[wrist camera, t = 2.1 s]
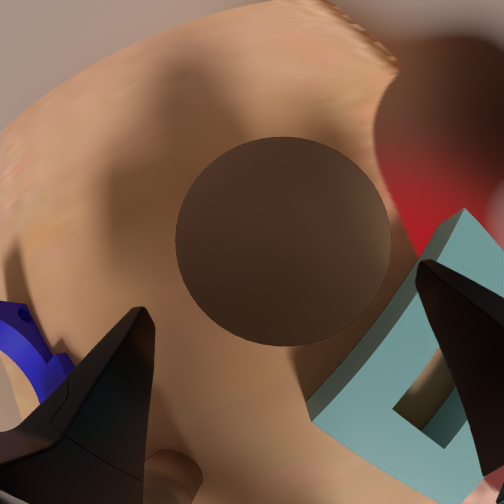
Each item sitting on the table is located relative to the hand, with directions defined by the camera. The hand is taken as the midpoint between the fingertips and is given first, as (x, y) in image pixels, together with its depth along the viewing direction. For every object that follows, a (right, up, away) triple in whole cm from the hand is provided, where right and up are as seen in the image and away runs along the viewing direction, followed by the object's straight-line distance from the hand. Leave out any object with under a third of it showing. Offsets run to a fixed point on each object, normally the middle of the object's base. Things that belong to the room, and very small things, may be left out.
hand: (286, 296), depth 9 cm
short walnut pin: (-6, -14, +7) cm, 17 cm away
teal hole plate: (+13, -7, +6) cm, 16 cm away
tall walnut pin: (+1, -1, +9) cm, 9 cm away
